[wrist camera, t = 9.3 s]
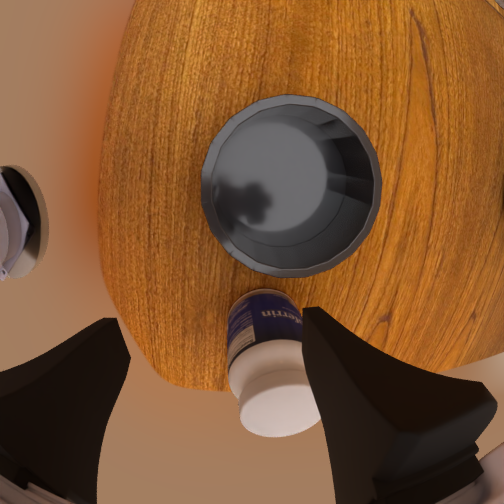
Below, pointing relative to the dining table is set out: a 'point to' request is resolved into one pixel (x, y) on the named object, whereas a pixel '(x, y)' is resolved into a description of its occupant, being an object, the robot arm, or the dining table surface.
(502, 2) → the glass holder
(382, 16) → the dining table surface
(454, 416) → the robot arm
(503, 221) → the dining table surface
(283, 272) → the bowl
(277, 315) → the pill bottle
